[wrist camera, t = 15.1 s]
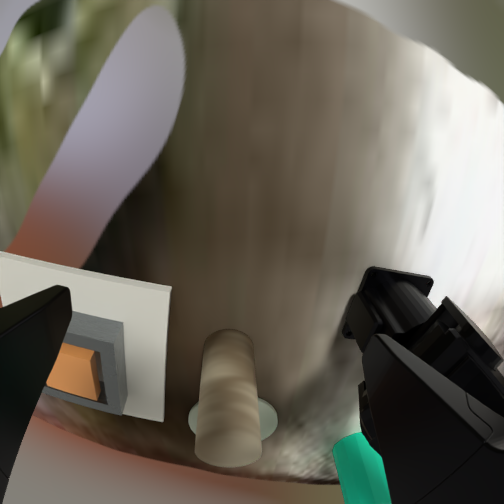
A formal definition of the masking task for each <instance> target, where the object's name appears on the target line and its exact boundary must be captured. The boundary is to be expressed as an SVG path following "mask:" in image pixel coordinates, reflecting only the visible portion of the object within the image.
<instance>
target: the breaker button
mask: <svg viewBox="0 0 504 504" xmlns="http://www.w3.org/2000/svg"><path fill="white" fill-rule="evenodd" d="M46 383H47V386H50V387H53V388H56V389H59V390H62V391H65V392H68V393H71V394H75V395H78V396H82V397H85V398H89V399H92V400H96V401H97V400H98V397H99V395H100V392H101V389H100V383H99V377H98V371H97V364H96V357H95V351H93V350H89V349H85V348H82V347H78V346H74V345H70V344H67V343H62V346H61V349H60V352H59V354H58V357H57V360H56V362H55V364H54V366H53V369H52V371H51V373H50V375H49V377H48V379H47V382H46Z"/></svg>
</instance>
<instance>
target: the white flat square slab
mask: <svg viewBox="0 0 504 504" xmlns="http://www.w3.org/2000/svg"><path fill="white" fill-rule="evenodd" d="M54 285H61V286H66V287H68V288H69V289H70V292H71V302H72V311H73V313H72V319H71V322H70V324H69V327H68V329H67V332H66V335H65V338H64V340H63V343H67V344H70V345H74V346H78V347H82V348H85V349H89V350H93V351H95V357H96V364H97V371H98V377H99V383H100V389H101V392H100V395H99V397H98V400H97V401H96V400H92V399H89V398H85V397H82V396H78V395H75V394H71V393H68V392H65V391H62V390H59V389H56V388H53V387H50V386H47V383H46V384H45V386H44V388H43V390H42V393H45V394H48V395H51V396H54V397H57V398H60V399H63V400H66V401H69V402H73V403H76V404H79V405H83V406H86V407H90V408H93V409H97V410H101V411H105V412H108V413H113V414H117V415H121V416H122V414H125V415H130V416H134V417H139V418H144V419H149V420H154V421H160V422H163V421H164V412H165V380H166V359H167V342H168V327H169V314H170V302H171V290H172V287H171V286H165V285H160V284H154V283H148V282H143V281H138V280H132V279H127V278H122V277H117V276H111V275H106V274H101V273H96V272H91V271H87V270H82V269H77V268H72V267H67V266H63V265H58V264H54V263H49V262H45V261H40V260H35V259H31V258H27V257H23V256H19V255H14V254H10V253H6V252H2V251H0V295H1V300H2V304H3V307H4V306H7V305H9V304H11V303H14V302H16V301H18V300H21V299H23V298H25V297H28V296H30V295H32V294H35V293H37V292H40V291H42V290H44V289H47V288H49V287H52V286H54Z"/></svg>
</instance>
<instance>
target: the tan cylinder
mask: <svg viewBox="0 0 504 504" xmlns="http://www.w3.org/2000/svg"><path fill="white" fill-rule="evenodd" d="M195 454H196V456H197V457H198V458H199V459H200V460H202V461H203V462H205V463H208V464H211V465H214V466H219V467H240V466H245V465H248V464H251V463H253V462H255V461H257V460H258V459H259V458H260V457H261V455H262V444H261V432H260V420H259V408H258V396H257V384H256V372H255V359H254V347H253V343H252V340H251V339H250V338H249V337H248V336H247V335H246V334H245V333H243V332H241V331H238V330H233V329H223V330H219V331H216V332H214V333H212V334H211V335H210V336H209V337H208V338H207V339H206V341H205V344H204V353H203V362H202V372H201V383H200V393H199V404H198V416H197V428H196V440H195Z"/></svg>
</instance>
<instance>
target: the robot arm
mask: <svg viewBox="0 0 504 504" xmlns="http://www.w3.org/2000/svg"><path fill="white" fill-rule="evenodd" d="M372 272H375V273H374V274H373V275H371V273H372ZM428 281H429V282H428ZM427 282H428V283H427ZM426 283H427V284H426ZM433 283H434V281H433V279H432V278H431V277H430V276H425V275H420V274H414V273H408V272H403V271H397V270H392V269H386V268H380V267H374V266H372V267H369V268H368V269H367V271H366V273H365V276H364V279H363V281H362V284H361V286H360V289H359V291H358V292H357V293H356V295H355V298H354V300H353V303H352V305H351V307H350V310H349V312H348V315H347V317H346V320H347V321H346V323H345V325H344V328H343V330H342V334H343V336H344V337H345V338H347V339H356V342H357V344H358V346H359V348H360V350H361V352H362V353H363V356H362V364H363V370H364V376H365V381H363V382H362V383H360V384H359V385H358V390H359V410H360V426H361V431H362V434H363V435H364V436H365V438H366V440H367V441H368V443H369V445H370V446H371V447H372V448H373V449H374V450H375V451H376V452H377V453H378V454H379V455H380V456H381V457H382V461H383V465H384V470H385V475H386V479H387V484H388V489H389V494H390V499H391V504H504V377H503V375H502V374H501V373H500V372H499V370H498V369H497V367H498V366H499V365H500V364H501V363H502V362H503V361H504V360H503V358H502V357H501V355H500V354H499V352H498V351H497V349H496V348H495V346H494V345H493V344H492V342H491V341H490V340H489V339H488V337H487V336H486V335H485V334H484V333H483V332H482V331H481V330H480V328H479V327H478V326H477V325H476V324H475V323H474V322H473V321H472V320H471V319H470V318H469V317H468V316H467V315H466V314H465V313H464V312H463V311H462V310H461V309H460V308H459V307H458V306H457V305H456V304H455V303H454V302H453V301H451V300H450V299H449V298H448V297H447V296H446V297H445V298H444V299H443V300H442V304H441V305H440V306H439V307H438V308H436V307H435V306H434V305H433V304H432V302H431V301H430V300H429V299H428V298H427V297H428V295H429V292H430V290H431V288H432V286H433ZM72 313H73V311H72V302H71V292H70V289H69V288H68V287H66V286H61V285H54V286H52V287H49V288H47V289H44V290H42V291H40V292H37V293H35V294H32V295H30V296H28V297H25V298H23V299H21V300H18V301H16V302H14V303H11V304H9V305H7V306H4V307H2V308H0V504H2V502H3V498H4V495H5V492H6V488H7V485H8V482H9V479H8V478H10V475H11V471H12V468H13V465H14V462H15V459H16V456H17V454H18V451H19V448H20V445H21V442H22V440H23V437H24V434H25V432H26V429H27V426H28V424H29V421H30V419H31V416H32V414H33V412H34V409H35V407H36V404H37V402H38V400H39V397H40V395H41V393H42V390H43V388H44V386H45V384H46V382H47V379H48V377H49V375H50V373H51V371H52V369H53V366H54V364H55V362H56V360H57V357H58V354H59V352H60V349H61V346H62V343H63V340H64V338H65V335H66V332H67V329H68V327H69V324H70V322H71V319H72ZM349 331H350V332H349ZM347 332H349V333H347Z"/></svg>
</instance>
